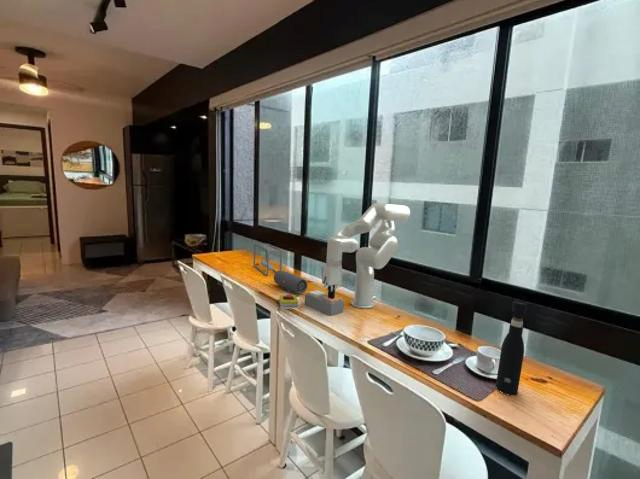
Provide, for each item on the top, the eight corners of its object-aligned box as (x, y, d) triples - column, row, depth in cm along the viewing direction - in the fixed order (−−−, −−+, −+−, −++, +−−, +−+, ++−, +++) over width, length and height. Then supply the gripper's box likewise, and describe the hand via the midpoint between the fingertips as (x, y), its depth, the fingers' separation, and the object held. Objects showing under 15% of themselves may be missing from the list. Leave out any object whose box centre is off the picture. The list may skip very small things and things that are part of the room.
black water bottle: (510, 384, 117) (523, 299, 112) (521, 396, 110) (536, 306, 106) (491, 384, 117) (504, 298, 112) (502, 395, 110) (516, 305, 106)
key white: (317, 299, 186) (317, 290, 185) (325, 302, 181) (325, 293, 181) (309, 301, 182) (309, 292, 181) (316, 304, 177) (317, 295, 177)
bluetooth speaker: (272, 286, 211) (273, 270, 209) (284, 284, 217) (285, 268, 216) (294, 296, 194) (295, 279, 193) (307, 293, 200) (308, 277, 199)
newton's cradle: (253, 266, 257) (254, 243, 255) (266, 265, 262) (267, 242, 260) (266, 276, 231) (267, 250, 229) (281, 275, 236) (282, 250, 234)
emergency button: (295, 292, 190) (299, 301, 175) (295, 299, 190) (299, 309, 176) (279, 292, 188) (281, 301, 173) (278, 299, 189) (280, 309, 174)
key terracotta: (330, 304, 179) (331, 295, 178) (339, 307, 174) (339, 298, 174) (322, 306, 174) (322, 297, 174) (330, 310, 170) (331, 300, 170)
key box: (317, 301, 188) (317, 290, 187) (343, 312, 175) (344, 300, 174) (304, 304, 182) (305, 293, 181) (330, 316, 168) (331, 304, 167)
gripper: (338, 259, 179) (335, 293, 181) (317, 262, 168) (315, 298, 171) (349, 262, 173) (346, 297, 176) (328, 265, 163) (325, 302, 166)
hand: (331, 297), depth 174 cm, fingers closed
